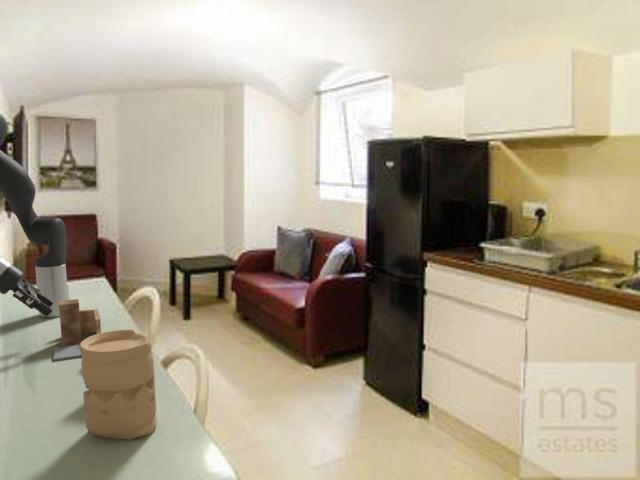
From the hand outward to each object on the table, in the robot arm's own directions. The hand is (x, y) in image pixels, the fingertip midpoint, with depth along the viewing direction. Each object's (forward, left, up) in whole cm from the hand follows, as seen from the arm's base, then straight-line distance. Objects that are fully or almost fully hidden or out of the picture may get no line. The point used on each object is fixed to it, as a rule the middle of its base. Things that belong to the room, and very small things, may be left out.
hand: (50, 309), depth 145 cm
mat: (+6, +9, -10) cm, 15 cm away
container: (+46, +41, -11) cm, 62 cm away
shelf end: (-6, +6, -10) cm, 13 cm away
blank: (-2, +4, -10) cm, 11 cm away
